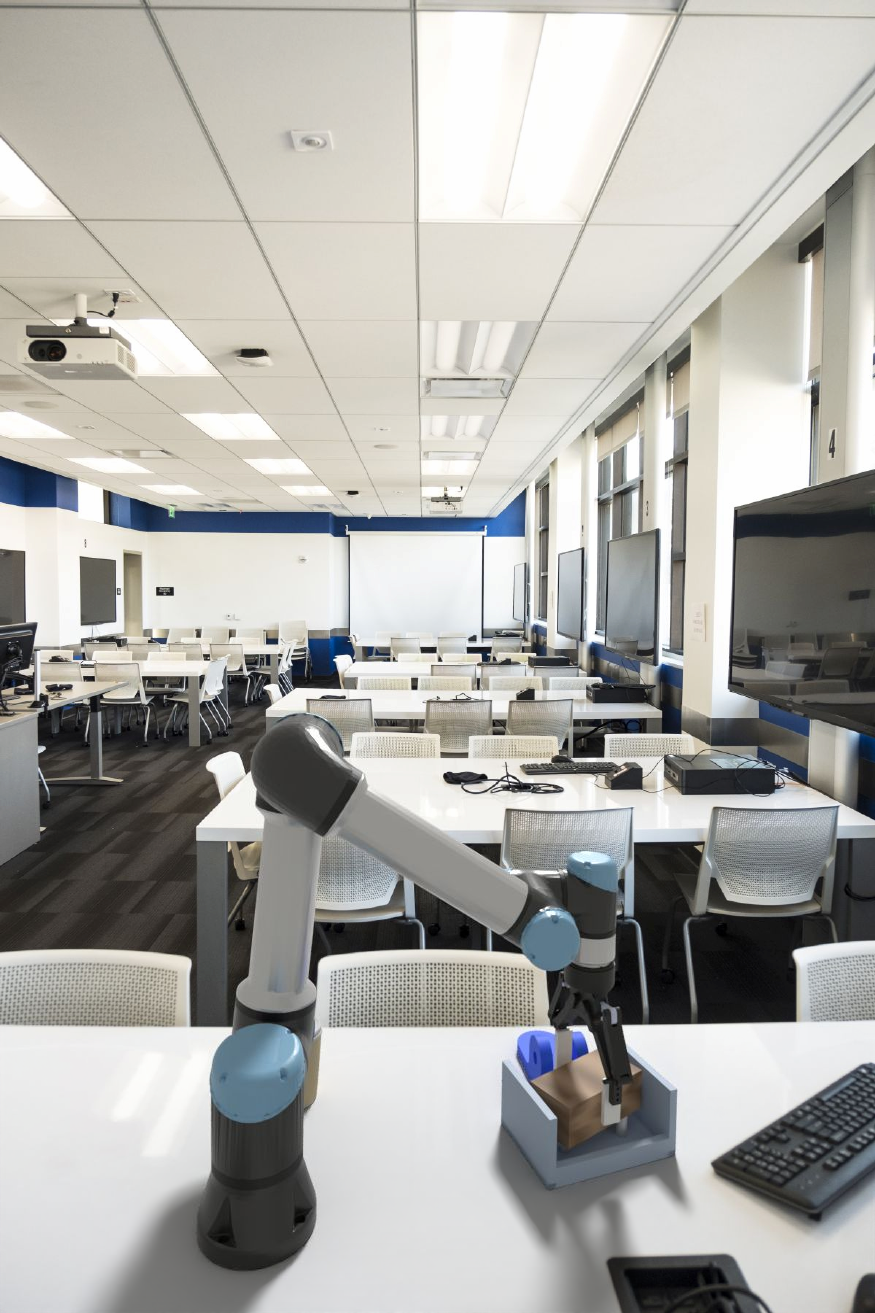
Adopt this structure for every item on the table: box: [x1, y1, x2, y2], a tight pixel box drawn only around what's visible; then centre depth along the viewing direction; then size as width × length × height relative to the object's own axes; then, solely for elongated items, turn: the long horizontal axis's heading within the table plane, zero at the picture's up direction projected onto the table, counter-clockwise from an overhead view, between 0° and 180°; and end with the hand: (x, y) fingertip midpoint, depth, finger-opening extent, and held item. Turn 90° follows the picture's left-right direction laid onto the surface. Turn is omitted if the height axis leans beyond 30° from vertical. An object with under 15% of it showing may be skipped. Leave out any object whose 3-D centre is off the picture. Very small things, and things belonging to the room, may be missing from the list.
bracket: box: [516, 1030, 590, 1082], centre depth 136 cm, size 18×8×9 cm, turn 9°
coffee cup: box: [304, 1015, 323, 1109], centre depth 127 cm, size 9×9×12 cm
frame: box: [500, 1043, 678, 1191], centre depth 117 cm, size 21×15×10 cm
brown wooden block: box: [529, 1048, 642, 1150], centre depth 117 cm, size 16×8×6 cm, turn 127°
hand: (585, 1095), depth 117 cm, fingers open, 13 cm apart
